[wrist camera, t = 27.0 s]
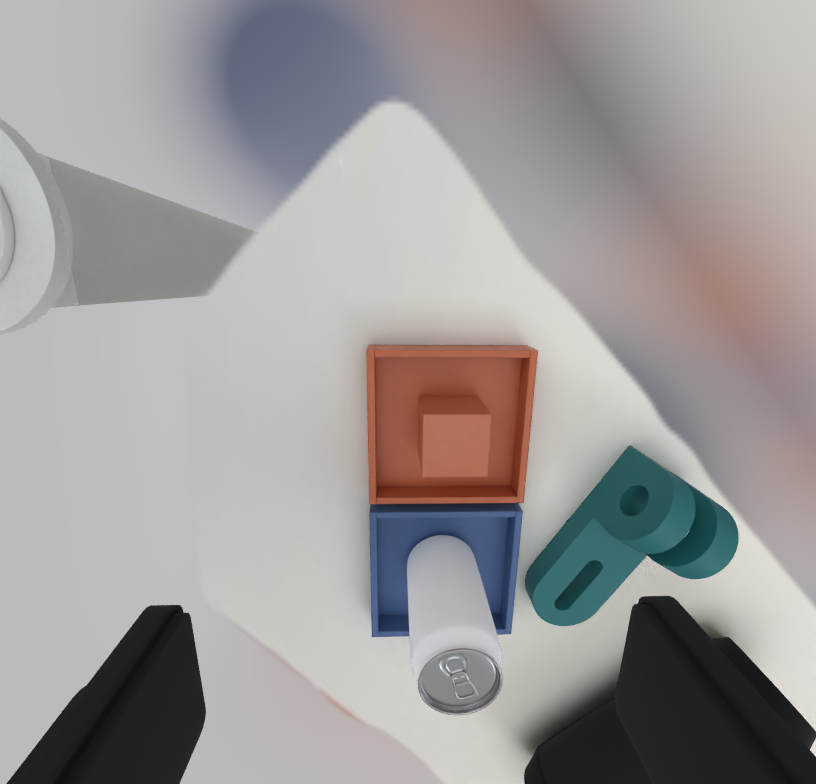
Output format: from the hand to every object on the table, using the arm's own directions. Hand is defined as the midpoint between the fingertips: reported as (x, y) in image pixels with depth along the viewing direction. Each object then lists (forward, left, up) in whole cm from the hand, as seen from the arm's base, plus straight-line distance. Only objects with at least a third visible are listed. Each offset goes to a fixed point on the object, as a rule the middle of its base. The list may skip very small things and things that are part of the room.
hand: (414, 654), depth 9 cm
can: (+4, -18, -26) cm, 32 cm away
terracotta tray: (+4, -4, -26) cm, 27 cm away
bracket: (+19, -16, -26) cm, 36 cm away
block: (+4, -4, -26) cm, 26 cm away
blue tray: (+4, -18, -26) cm, 32 cm away
